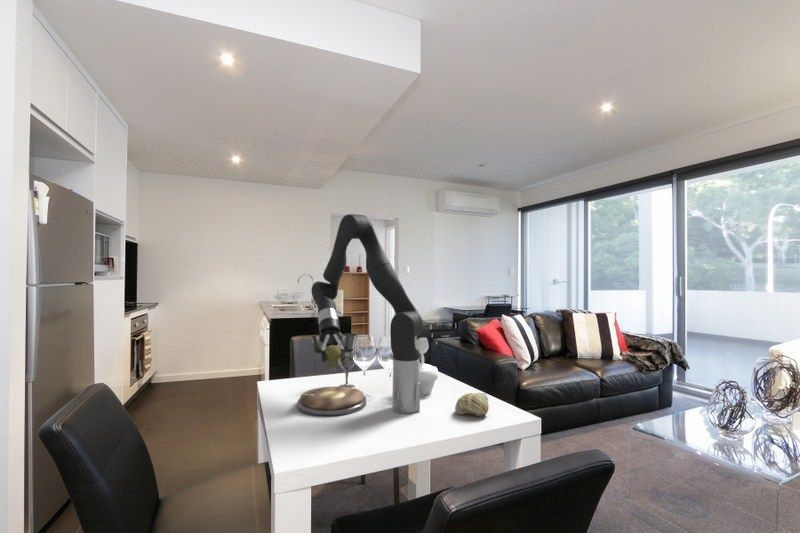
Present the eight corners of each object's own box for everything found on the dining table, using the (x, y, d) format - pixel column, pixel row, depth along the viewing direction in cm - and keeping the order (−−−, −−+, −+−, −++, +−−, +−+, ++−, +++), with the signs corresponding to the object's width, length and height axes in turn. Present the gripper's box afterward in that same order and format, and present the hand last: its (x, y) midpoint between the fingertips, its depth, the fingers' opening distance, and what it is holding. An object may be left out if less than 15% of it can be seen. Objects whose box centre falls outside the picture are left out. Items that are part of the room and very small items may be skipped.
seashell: (447, 410, 128) (458, 381, 131) (469, 419, 132) (479, 391, 134) (465, 418, 119) (476, 387, 122) (487, 428, 123) (498, 398, 125)
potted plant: (436, 398, 143) (437, 331, 143) (405, 396, 145) (406, 330, 145) (438, 388, 155) (439, 327, 156) (410, 387, 157) (410, 326, 158)
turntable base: (368, 394, 147) (368, 390, 147) (362, 416, 123) (362, 412, 123) (306, 393, 147) (306, 389, 147) (288, 416, 123) (288, 411, 123)
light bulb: (341, 371, 138) (341, 343, 138) (339, 375, 133) (339, 346, 133) (325, 371, 138) (326, 343, 138) (323, 375, 133) (323, 346, 133)
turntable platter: (366, 390, 146) (366, 386, 146) (360, 410, 124) (360, 405, 124) (308, 390, 146) (308, 385, 146) (292, 409, 124) (292, 404, 124)
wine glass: (335, 384, 159) (336, 348, 160) (354, 383, 162) (354, 347, 162) (338, 390, 152) (338, 352, 152) (358, 388, 154) (358, 351, 155)
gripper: (310, 317, 140) (314, 356, 129) (348, 316, 145) (355, 354, 134) (308, 329, 145) (311, 368, 134) (345, 328, 150) (351, 365, 139)
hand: (333, 360), depth 134 cm, fingers closed on light bulb, 5 cm apart
